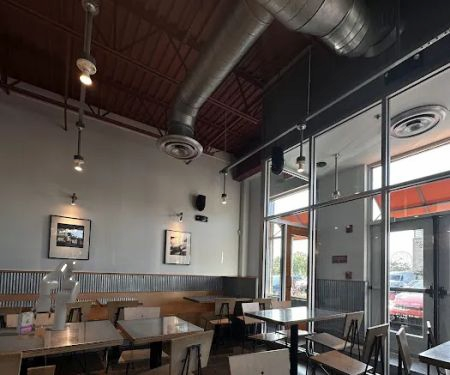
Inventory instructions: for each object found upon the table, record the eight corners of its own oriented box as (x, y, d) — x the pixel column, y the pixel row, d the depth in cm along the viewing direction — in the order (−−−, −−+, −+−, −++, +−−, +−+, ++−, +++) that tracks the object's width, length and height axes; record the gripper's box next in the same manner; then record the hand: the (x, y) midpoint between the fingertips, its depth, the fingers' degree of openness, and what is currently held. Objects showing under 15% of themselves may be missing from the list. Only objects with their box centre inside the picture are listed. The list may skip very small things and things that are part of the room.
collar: (44, 333, 281) (45, 326, 282) (44, 334, 275) (45, 328, 276) (34, 333, 278) (35, 327, 279) (34, 335, 272) (35, 328, 273)
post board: (46, 334, 284) (47, 324, 285) (46, 339, 266) (47, 329, 268) (18, 336, 275) (19, 326, 277) (15, 341, 258) (17, 330, 259)
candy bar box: (26, 332, 290) (29, 311, 293) (31, 332, 288) (34, 312, 292) (15, 334, 279) (18, 313, 283) (19, 335, 278) (22, 313, 281)
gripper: (56, 295, 290) (54, 317, 287) (32, 296, 282) (30, 318, 280) (56, 296, 283) (54, 319, 280) (32, 297, 276) (29, 320, 273)
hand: (42, 318), depth 280 cm, fingers open, 9 cm apart
